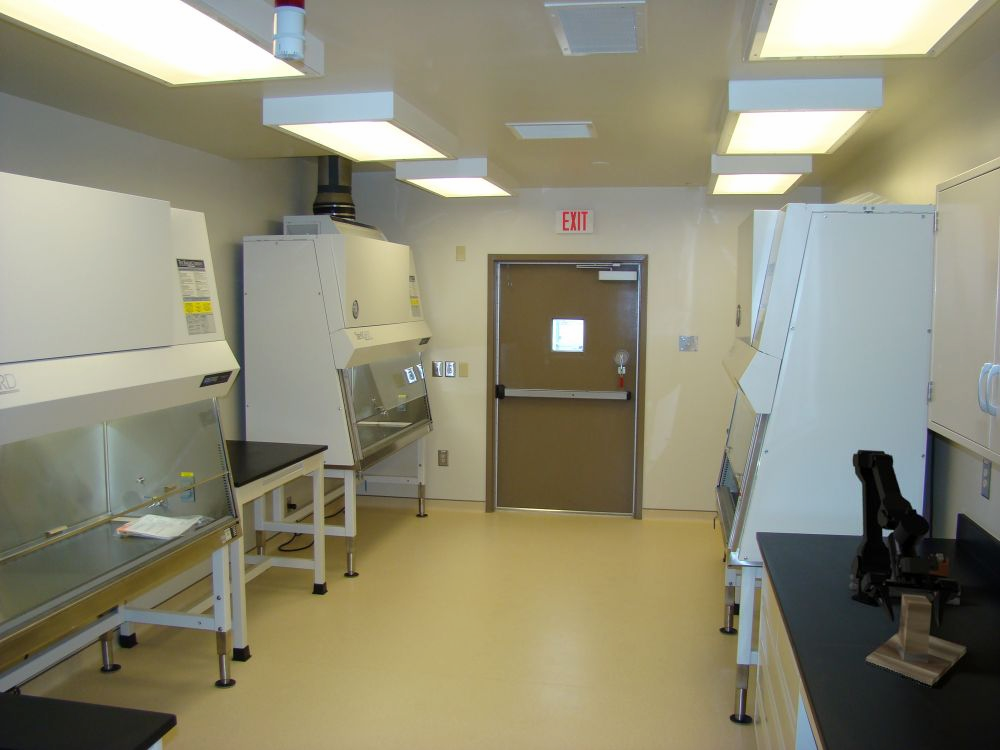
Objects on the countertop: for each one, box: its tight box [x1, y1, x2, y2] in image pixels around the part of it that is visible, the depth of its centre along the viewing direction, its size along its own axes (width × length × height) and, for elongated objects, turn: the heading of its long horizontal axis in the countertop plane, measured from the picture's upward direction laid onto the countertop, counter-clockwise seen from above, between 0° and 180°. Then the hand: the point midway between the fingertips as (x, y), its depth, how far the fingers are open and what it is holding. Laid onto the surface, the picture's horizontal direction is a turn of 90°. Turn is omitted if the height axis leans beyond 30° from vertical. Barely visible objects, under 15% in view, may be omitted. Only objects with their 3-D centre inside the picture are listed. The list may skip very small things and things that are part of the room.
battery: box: [927, 552, 950, 594], centre depth 203 cm, size 4×7×10 cm, turn 149°
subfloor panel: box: [865, 631, 967, 686], centre depth 166 cm, size 22×13×2 cm, turn 133°
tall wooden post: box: [897, 594, 933, 663], centre depth 163 cm, size 5×5×13 cm
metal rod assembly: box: [848, 574, 961, 606], centre depth 199 cm, size 26×3×5 cm, turn 69°
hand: (916, 623), depth 162 cm, fingers open, 9 cm apart
